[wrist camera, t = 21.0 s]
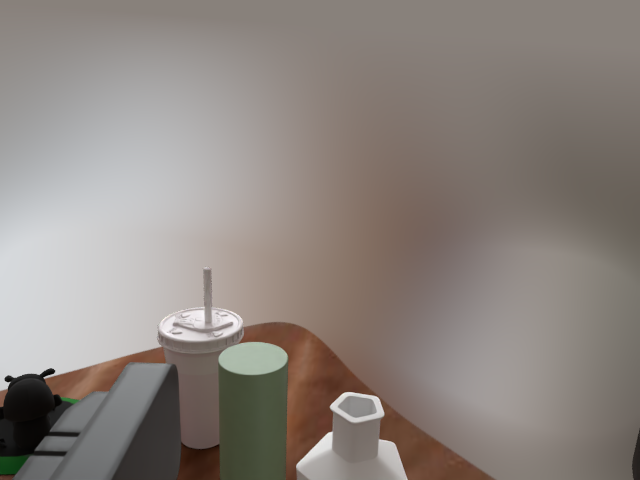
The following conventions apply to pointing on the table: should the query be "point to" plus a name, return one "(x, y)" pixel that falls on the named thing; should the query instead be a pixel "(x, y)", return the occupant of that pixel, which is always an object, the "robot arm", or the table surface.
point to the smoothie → (199, 363)
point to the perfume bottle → (353, 445)
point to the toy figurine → (27, 418)
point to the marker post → (253, 412)
